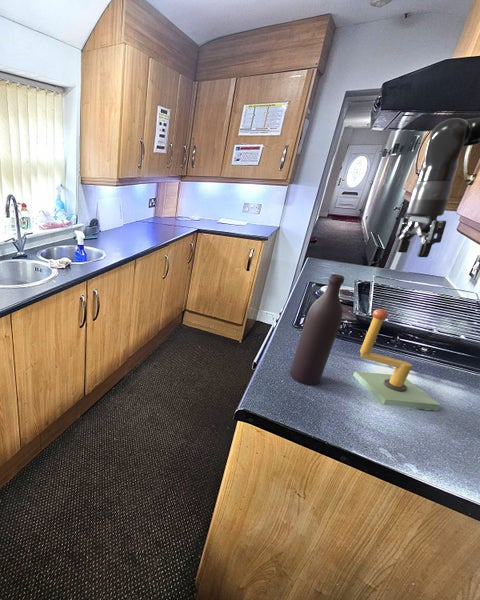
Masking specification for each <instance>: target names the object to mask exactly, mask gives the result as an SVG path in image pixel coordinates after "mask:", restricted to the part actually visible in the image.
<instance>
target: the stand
mask: <svg viewBox="0 0 480 600" xmlns="http://www.w3.org/2000/svg"><path fill="white" fill-rule="evenodd" d="M352 376H353V377H354V378H355V379H356V380H357V381H358V382H359V383H360V384H361V385H362V386H363V387H364V388H365V389H366V390H367V391H368V392H369V393H370V394H371V395H372V396H373V397H374V398H375V399H376V400H377V401H378V402H379V403H380V404H382V405H383V406H392V407H403V408H415V409H416V408H417V409H416V410H420V409H427V410H426V411H430V410H437V411H439V408H440V407H441V403H439V402H438V401H436V400H435V399H434V398H433V397H431V396H430V395H429V394H428V393H426V392H425V391H424V390H422V389H421V388H419V387H418V386H417V385H415V384H414V383H413V381H411V380H409V379H408V378H406V380H405V382H404V384H403V386H402V387H397V386H394V385H392V384H390V383H389V381H390V379H391V377H392V373H389V374H388V373H378V372H367V371H357V370H355V371H354V372H353V375H352Z"/></svg>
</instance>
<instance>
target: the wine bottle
mask: <svg viewBox="0 0 480 600" xmlns="http://www.w3.org/2000/svg"><path fill="white" fill-rule="evenodd" d="M344 282H345V276H344V275H342V274H335V273H333V274H332V273H331V274H330V276H329V277H328V284H327V287H326V289H325V291H324V292H323V294H321V295H320V297H318V298H317V299H316V300H315V301H314V302H313V303H312V304H311V305H310V308H309V309H308V312H307V314H306V316H305V321H304V323H303V327H302V330H301V333H300V337H299V340H298V343H297V347H296V349H295V353H294V356H293V360H292V363H291V366H290V370H289V376H290V378H291V379H293V380H294V381H295V382H298V383H299V384H302V385H306V386H317V385H318V384H319V383H320V382H321V379H322V377H323V374H324V371H325V369H326V365H327V363H328V359H329V357H330V354H331V351H332V349H333V346H334V343H335V340H336V338H337V334H338V331H339V329H340V326H341V323H342V320H343V310H344V309H343V305H342V303H341V302H342V301H341V298H340V291H341V287H342V284H344Z"/></svg>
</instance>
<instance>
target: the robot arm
mask: <svg viewBox="0 0 480 600" xmlns="http://www.w3.org/2000/svg"><path fill="white" fill-rule="evenodd" d="M475 145H480V117H475V118H469V119H464V118H460V117H452V118H448V119H445V120H443V121H440V123H438V124H437V125H435V127H434V128H432V130H431V132H430V134H429V137H428V141H427V144H426V150H425V155H424V160H423V164H422V165H421V168H420V171H419V174H418V177H417V178H418V179H417V181H416V184H415V186H414V187H413V190H412V194H411V197H410V200H409V203H408V207H407V211H406V215H408V216H410V217H401V218H400V221H399V225H398V228H397V231H396V233H395V237H396V238H398V240H400V241H399V243H398V246H397V252H398V253H408V250H409V248H410V247H409V246H410V245H411V239H412V238H413V237H414V236H417V237H418V238H419V239H420V245H419V249H418V251H417V255H416V256H417V257H418V258H428V257H429V255H430V252H431V250H432V246H433V245H435V244H439V243H441V242H442V239H443V236H444V232H445V229H446V225H447V220H438V217H441V216H444V214H445V210H446V208H447V205H448V202H449V198H450V196H451V193H452V190H453V183H454V180H455V177H456V174H457V170H458V167H459V160H460V159H459V158H460V156H461V154H462V150H463V148H464V147H469V146H475Z"/></svg>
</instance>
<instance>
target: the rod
mask: <svg viewBox="0 0 480 600" xmlns="http://www.w3.org/2000/svg"><path fill="white" fill-rule="evenodd" d="M388 316H389V313H388V312H387V310H386V309H384V308H377V309H375V310H374V311H373V312H372V320H371V321H370V325H369V327H368V330H367V332H366V335H365V337H364V340H363V342H362V344H361V347H360V350H359V353H360V358H361V359H365V360H368V361H372V362H375V363H379V364H382V365H386V366H390V367H393V368H394V370H393V373H391V375H392V377H391V379H390V381H389V383H390V384H392V385H394V386H397V387H402V386H403V384H404V382H405V380H406V379H408V376H409V374H410V372H411V370H412V368H413V364H412V363H410V362H409V361H405V360H401V359H397V358H393V357H390V356H386V355H382V354H378V353H374V352H371V351H372V349H373V347H374V344H375V342H376V339H377V337H378V335H379V332H380V330H381V327H382V325H383V323H384V320H386V319H387V318H388Z"/></svg>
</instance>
